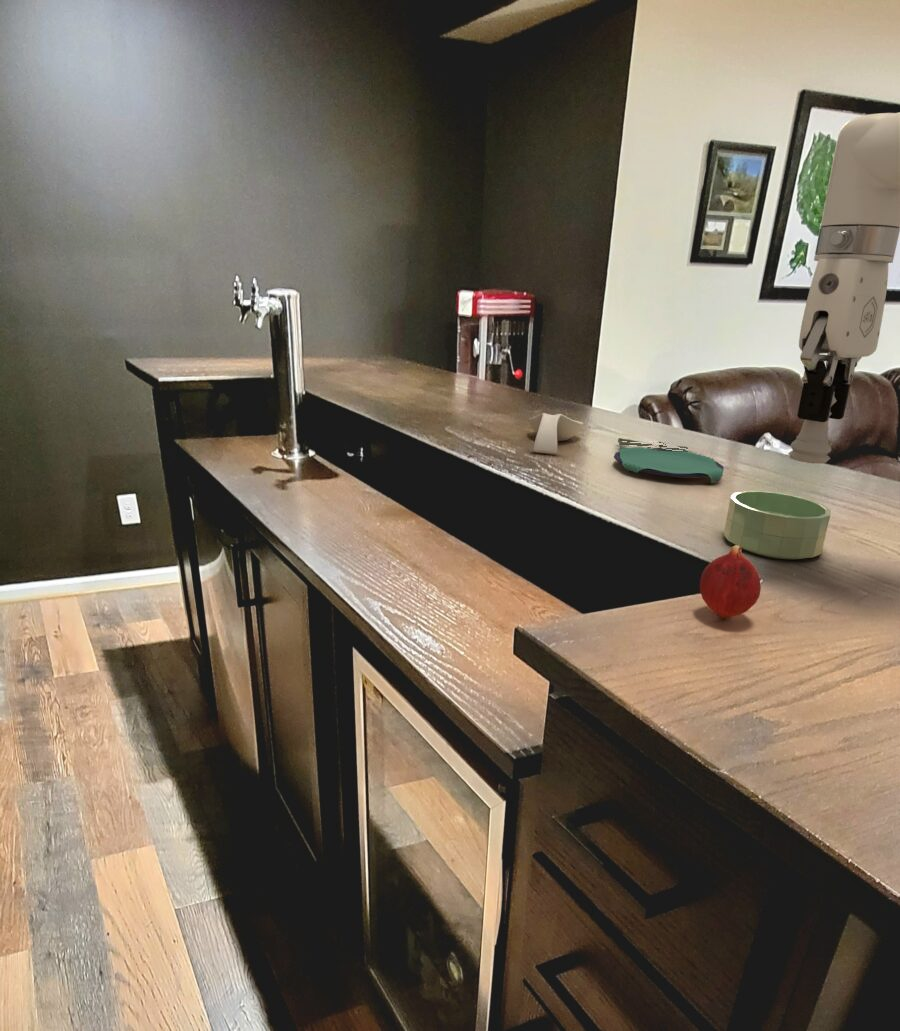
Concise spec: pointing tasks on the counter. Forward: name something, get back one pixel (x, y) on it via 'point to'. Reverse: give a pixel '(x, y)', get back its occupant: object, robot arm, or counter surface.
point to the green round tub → (776, 524)
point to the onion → (730, 584)
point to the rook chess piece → (812, 442)
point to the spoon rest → (552, 431)
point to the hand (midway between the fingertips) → (820, 417)
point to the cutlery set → (667, 461)
